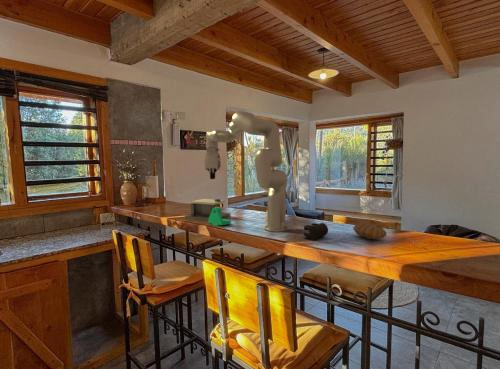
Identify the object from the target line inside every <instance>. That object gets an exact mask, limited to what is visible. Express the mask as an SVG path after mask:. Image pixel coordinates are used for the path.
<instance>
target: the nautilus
mask: <svg viewBox="0 0 500 369" xmlns="http://www.w3.org/2000/svg"><path fill="white" fill-rule="evenodd" d="M352 230H353V231H354V232H355V233H356V235H357V236H360V237H362V238H364V239H365V240H375V241H379V239H383V238H385V237H387V234H388V233H387V231H386V230H385V229H384V228H383V227H381V225H379V223H378V222H376V221H375V222H374V221H371V220H363V221H359V222H357V223H356V224H355V225H354V226H353V227H352Z"/></svg>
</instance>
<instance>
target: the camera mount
mask: <svg viewBox="0 0 500 369" xmlns="http://www.w3.org/2000/svg"><path fill="white" fill-rule="evenodd" d="M221 213H222V208H221V207H220V206H217V207H216V206H215V208H213V209H212V212H211V214H210V216H209V219H208V221H207V222H208V223H210V224H211V225H213V226H217V227H219V226H225V225H229V224H231V223H232V220H231V219H226V218H224V219H222V217H221ZM218 225H219V226H218Z"/></svg>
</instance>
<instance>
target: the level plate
mask: <svg viewBox="0 0 500 369" xmlns="http://www.w3.org/2000/svg"><path fill="white" fill-rule="evenodd" d="M191 203H197V204H210V205H215V206H216V205H218V204H223V203H226V200H225V199H221V198H211V199H210V198H200V199H195V200H191V202H190V204H191Z"/></svg>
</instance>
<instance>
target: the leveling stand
mask: <svg viewBox="0 0 500 369" xmlns="http://www.w3.org/2000/svg"><path fill="white" fill-rule="evenodd" d="M213 208H216V204H215V205H210V204H197V203H191V202H190V214H188V215H187V214H186V215H184V220H192V221H200V220H201V222H208V219H209V216H210V214H211V212H212V209H213ZM221 217H222V219H226V218H230V217H231V213H230V212H221Z"/></svg>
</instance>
